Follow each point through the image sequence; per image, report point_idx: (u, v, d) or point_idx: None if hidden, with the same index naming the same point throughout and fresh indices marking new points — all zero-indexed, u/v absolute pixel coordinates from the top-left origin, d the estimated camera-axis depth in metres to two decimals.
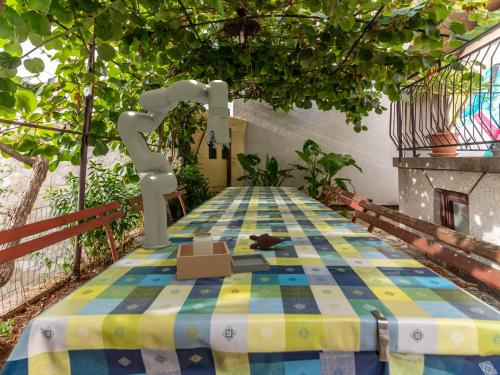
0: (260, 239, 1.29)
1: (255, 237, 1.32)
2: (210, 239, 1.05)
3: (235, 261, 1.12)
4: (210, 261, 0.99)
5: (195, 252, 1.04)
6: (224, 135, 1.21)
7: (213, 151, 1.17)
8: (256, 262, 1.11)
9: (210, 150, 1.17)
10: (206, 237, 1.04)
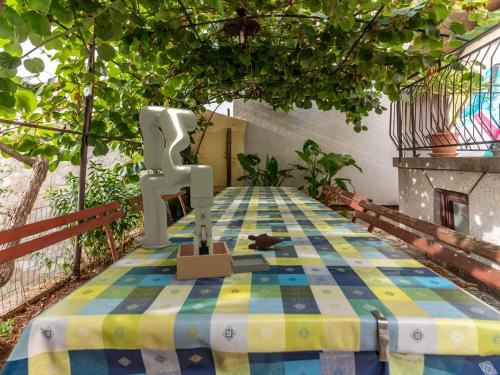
0: (258, 239, 1.29)
1: (254, 237, 1.32)
2: (210, 238, 1.05)
3: (235, 261, 1.12)
4: (210, 261, 0.99)
5: (196, 251, 1.04)
6: None
7: None
8: (256, 262, 1.11)
9: None
10: None
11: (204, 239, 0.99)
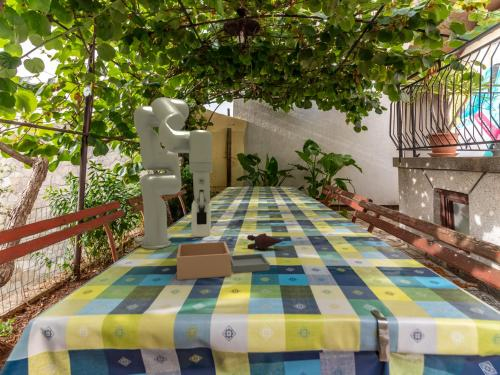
0: (257, 239, 1.29)
1: (253, 237, 1.32)
2: (208, 205, 1.05)
3: (235, 261, 1.12)
4: (210, 261, 0.99)
5: (193, 217, 1.05)
6: None
7: None
8: (256, 262, 1.11)
9: None
10: None
11: (202, 204, 0.99)
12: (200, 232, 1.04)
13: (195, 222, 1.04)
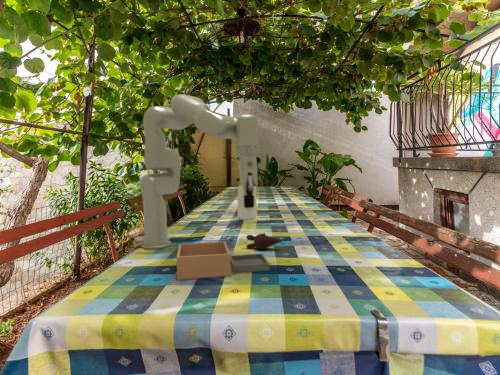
0: (256, 239, 1.29)
1: (252, 237, 1.32)
2: (255, 188, 1.07)
3: (235, 261, 1.12)
4: (210, 261, 0.99)
5: (240, 200, 1.06)
6: (240, 176, 1.07)
7: None
8: (256, 262, 1.11)
9: None
10: None
11: (251, 186, 1.01)
12: (247, 215, 1.06)
13: (242, 206, 1.06)
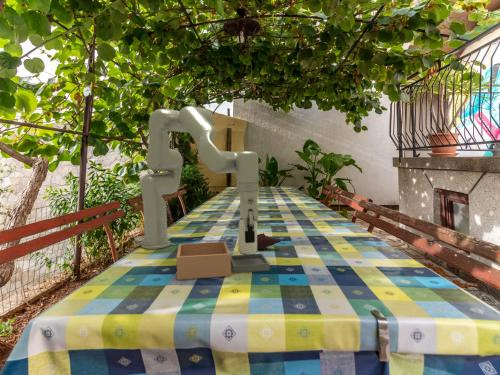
0: None
1: None
2: (255, 223, 1.08)
3: (235, 261, 1.12)
4: (210, 261, 0.99)
5: (241, 235, 1.07)
6: (241, 211, 1.08)
7: None
8: (256, 262, 1.11)
9: None
10: None
11: (252, 223, 1.02)
12: (248, 250, 1.07)
13: (243, 241, 1.07)
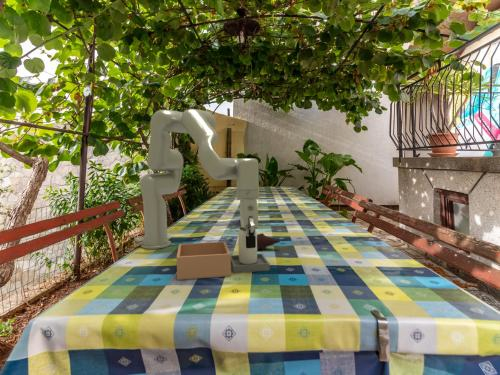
0: None
1: None
2: (255, 233, 1.09)
3: (235, 261, 1.12)
4: (210, 261, 0.99)
5: (241, 245, 1.08)
6: (241, 218, 1.08)
7: None
8: (256, 262, 1.11)
9: None
10: None
11: (253, 226, 1.00)
12: (248, 260, 1.08)
13: (243, 251, 1.08)
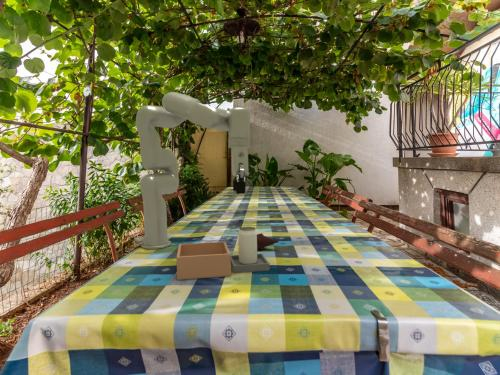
0: None
1: None
2: (255, 233, 1.09)
3: (235, 261, 1.12)
4: (210, 261, 0.99)
5: (241, 245, 1.09)
6: (232, 166, 1.12)
7: None
8: (256, 262, 1.11)
9: None
10: (251, 231, 1.08)
11: (242, 170, 1.04)
12: (248, 260, 1.08)
13: (243, 251, 1.08)
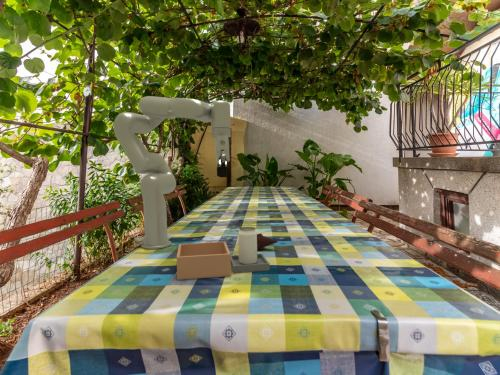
0: None
1: None
2: (255, 233, 1.09)
3: (235, 261, 1.12)
4: (210, 261, 0.99)
5: (241, 245, 1.09)
6: (215, 154, 1.25)
7: None
8: (256, 262, 1.11)
9: None
10: (251, 231, 1.08)
11: (224, 155, 1.17)
12: (248, 260, 1.08)
13: (243, 251, 1.08)
